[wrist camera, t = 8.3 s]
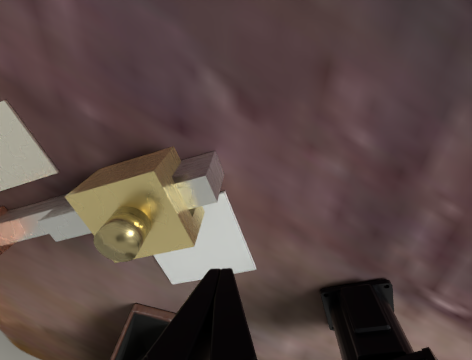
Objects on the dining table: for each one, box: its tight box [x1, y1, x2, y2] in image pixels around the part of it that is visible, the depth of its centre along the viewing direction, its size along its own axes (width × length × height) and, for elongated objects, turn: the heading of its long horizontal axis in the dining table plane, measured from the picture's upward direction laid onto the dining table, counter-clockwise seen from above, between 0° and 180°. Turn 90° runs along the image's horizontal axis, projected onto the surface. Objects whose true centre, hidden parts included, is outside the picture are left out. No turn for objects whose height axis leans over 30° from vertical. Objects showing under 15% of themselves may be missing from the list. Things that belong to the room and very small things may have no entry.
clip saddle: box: [65, 146, 205, 263], centre depth 16 cm, size 6×6×6 cm
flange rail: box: [0, 100, 224, 255], centre depth 17 cm, size 11×22×6 cm, turn 109°
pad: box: [154, 191, 256, 284], centre depth 23 cm, size 9×9×1 cm
